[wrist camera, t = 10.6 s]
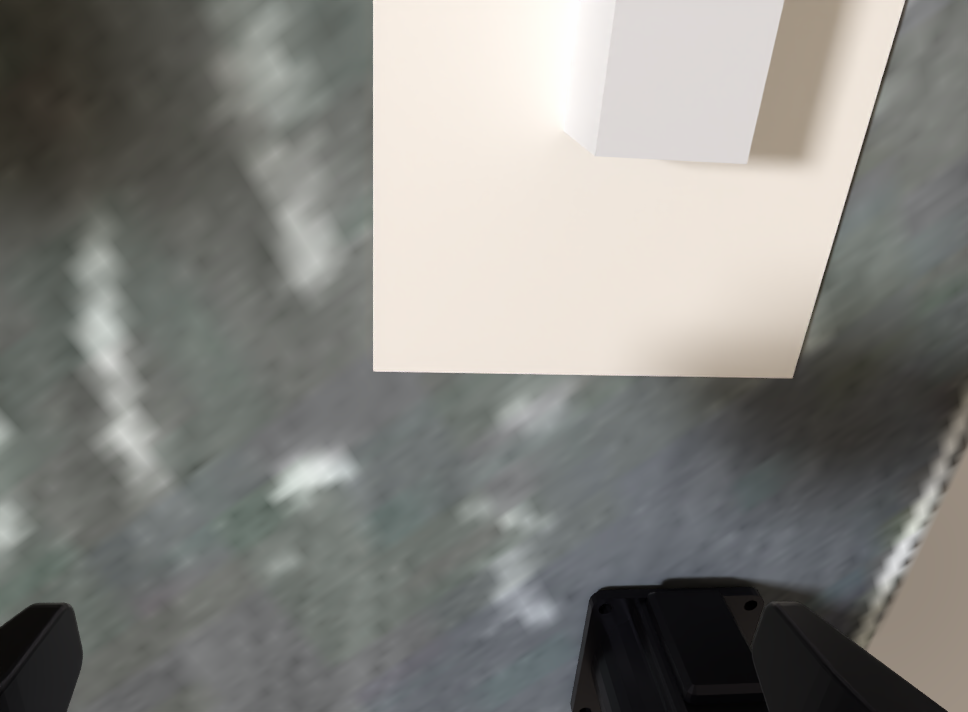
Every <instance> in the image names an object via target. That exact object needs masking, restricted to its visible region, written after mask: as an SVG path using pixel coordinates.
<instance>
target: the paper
mask: <svg viewBox="0 0 968 712" xmlns="http://www.w3.org/2000/svg"><path fill="white" fill-rule="evenodd" d="M904 3H905V0H784V4H783V9H782V13H781V17H780V22H779V26H778V30H777V35H776V39H775V44H774V48H773V52H772V57H771V61H770V65H769V70H768V74H767V78H766V83H765V87H764V91H763V96H762V100H761V105H760V109H759V113H758V118H757V122H756V126H755V131H754V135H753V139H752V144H751V148H750V153H749V157H748V161H747V164H733V163H714V162H695V161H676V160H657V159H638V158H619V157H600V156H594V155H593V154H592V153H590V152H589V151H588V150H586V149H585V148H584V147H583V146H581V145H580V144H579V143H578V142H576V141H575V140H574V139H573V138H571V137H570V136H569V135H568V134H566V133H565V132H564V131H563V129H564V120H565V111H566V103H567V94H568V85H569V76H570V67H571V59H572V50H573V41H574V32H575V23H576V15H577V6H578V0H373V371H379V372H440V373H500V374H561V375H622V376H682V377H743V378H793V375H794V371H795V368H796V364H797V361H798V358H799V354H800V351H801V348H802V344H803V341H804V338H805V334H806V331H807V328H808V324H809V321H810V318H811V314H812V311H813V307H814V304H815V301H816V297H817V294H818V291H819V287H820V284H821V281H822V277H823V274H824V271H825V267H826V264H827V261H828V257H829V254H830V251H831V247H832V244H833V240H834V237H835V234H836V230H837V227H838V224H839V220H840V217H841V214H842V210H843V207H844V204H845V200H846V197H847V194H848V190H849V187H850V183H851V180H852V177H853V173H854V170H855V167H856V163H857V160H858V157H859V153H860V150H861V147H862V143H863V140H864V137H865V133H866V130H867V127H868V123H869V120H870V116H871V113H872V110H873V106H874V103H875V100H876V96H877V93H878V90H879V86H880V83H881V80H882V76H883V73H884V70H885V66H886V63H887V59H888V56H889V53H890V49H891V46H892V43H893V39H894V36H895V33H896V29H897V26H898V23H899V19H900V16H901V13H902V9H903V6H904Z"/></svg>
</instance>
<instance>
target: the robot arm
mask: <svg viewBox="0 0 968 712" xmlns="http://www.w3.org/2000/svg"><path fill="white" fill-rule="evenodd" d="M603 604H606V605H603ZM601 605H603V606H601ZM763 605H764V601H763V599H762V597H761V595H760V594H759V592H758V590H757V589H755V588H751V587H735V588H687V589H639V590H603V591H598V592H596V593H594V594H593V595H592V596H591V598H590V600H589V605H588V610H587V616H586V621H585V627H584V632H583V638H582V643H581V648H580V654H579V659H578V665H577V670H576V676H575V681H574V687H573V692H572V698H571V703H570V704H571V710H572V712H948V711H946V710H945V709H944V708H942V707H941V706H939V705H938V704H937V703H936V702H934V701H933V700H931V699H930V698H929V697H927V696H926V695H925V694H923V693H922V692H921V691H919V690H918V689H916V688H915V687H914V686H913V685H911V684H910V683H909V682H907V681H906V680H904V679H903V678H902V677H900V676H899V675H898V674H896V673H895V672H894V671H892V670H891V669H890V668H888V667H887V666H886V665H884V664H883V663H882V662H880V661H879V660H877V659H876V658H875V657H873V656H872V655H871V654H869V653H868V652H867V651H865V650H864V649H863V648H861V647H860V646H859V645H857V644H856V643H855V642H853V641H852V640H850V639H849V638H848V637H846V636H845V635H844V634H842V633H841V632H840V631H838V630H837V629H836V628H834V627H833V626H832V625H830V624H829V623H828V622H826V621H825V620H823V619H822V618H821V617H819V616H818V615H817V614H815V613H814V612H813V611H811V610H810V609H809V608H807V607H806V606H804V605H803V604H801V603H799V602H795V601H773V602H770V603H769V604H768V605H767V606H766V607H765V609H764V612H763V615H762V617H761V620H760V623H759V626H758V629H757V632H756V634H755V637H754V640H753V644H752V649H751V647H750V645H751V642H752V639H753V636H754V632H755V629H756V626H757V623H758V620H759V617H760V614H761V611H762V608H763ZM82 660H83V650H82V645H81V640H80V635H79V631H78V626H77V622H76V617H75V613H74V610H73V608H72V606H71V605H70V604H67V603H35V604H32V605H30V606H28V607H27V608H25V609H24V610H23V611H21V612H20V613H19V614H17V615H16V616H14V617H13V618H12V619H10V620H9V621H8V622H6V623H5V624H4V625H2V626H1V627H0V712H67V709H68V706H69V703H70V700H71V697H72V694H73V691H74V688H75V685H76V682H77V679H78V677H79V674H80V670H81V666H82Z"/></svg>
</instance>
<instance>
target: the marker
mask: <svg viewBox="0 0 968 712" xmlns="http://www.w3.org/2000/svg"><path fill="white" fill-rule="evenodd" d="M783 4H784V0H578V6H577V15H576V23H575V32H574V41H573V50H572V59H571V67H570V76H569V85H568V94H567V103H566V111H565V120H564V129H563V131H564V132H565V133H566V134H568V135H569V136H570V137H571V138H573V139H574V140H575V141H576V142H578V143H579V144H580V145H581V146H583V147H584V148H585V149H586V150H588V151H589V152H590V153H592V154H593V155H594V156H600V157H619V158H638V159H657V160H676V161H695V162H714V163H733V164H747V161H748V157H749V153H750V148H751V144H752V139H753V135H754V131H755V126H756V122H757V118H758V113H759V109H760V105H761V100H762V96H763V91H764V87H765V83H766V78H767V74H768V70H769V65H770V61H771V57H772V52H773V48H774V44H775V39H776V35H777V30H778V26H779V22H780V17H781V13H782V9H783Z"/></svg>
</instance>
